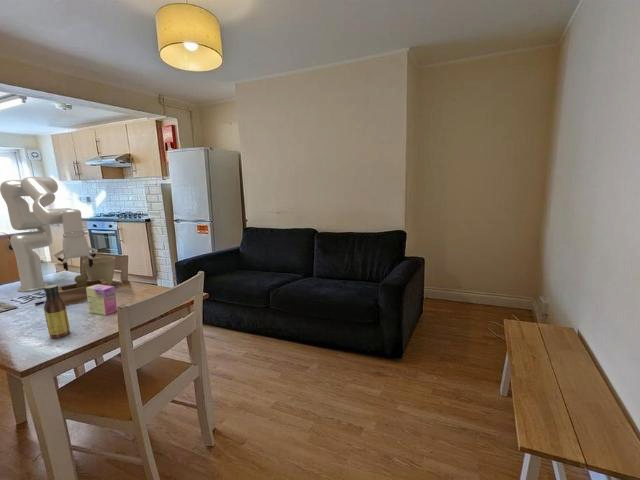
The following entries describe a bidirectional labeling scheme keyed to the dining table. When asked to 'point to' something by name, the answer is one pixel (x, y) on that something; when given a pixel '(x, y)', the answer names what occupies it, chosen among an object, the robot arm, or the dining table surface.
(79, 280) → the olive brown gourd shape
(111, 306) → the box
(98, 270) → the plant pot
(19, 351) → the dining table surface
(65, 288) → the walnut well caddy
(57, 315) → the sauce bottle
